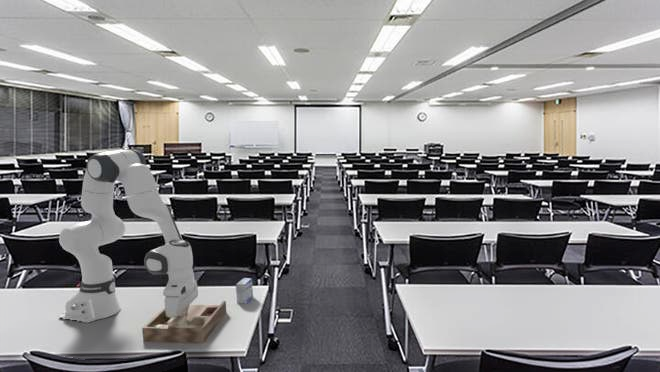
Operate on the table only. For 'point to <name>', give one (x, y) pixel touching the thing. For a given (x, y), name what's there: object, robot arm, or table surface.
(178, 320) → the block
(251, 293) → the medicine box
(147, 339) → the box
